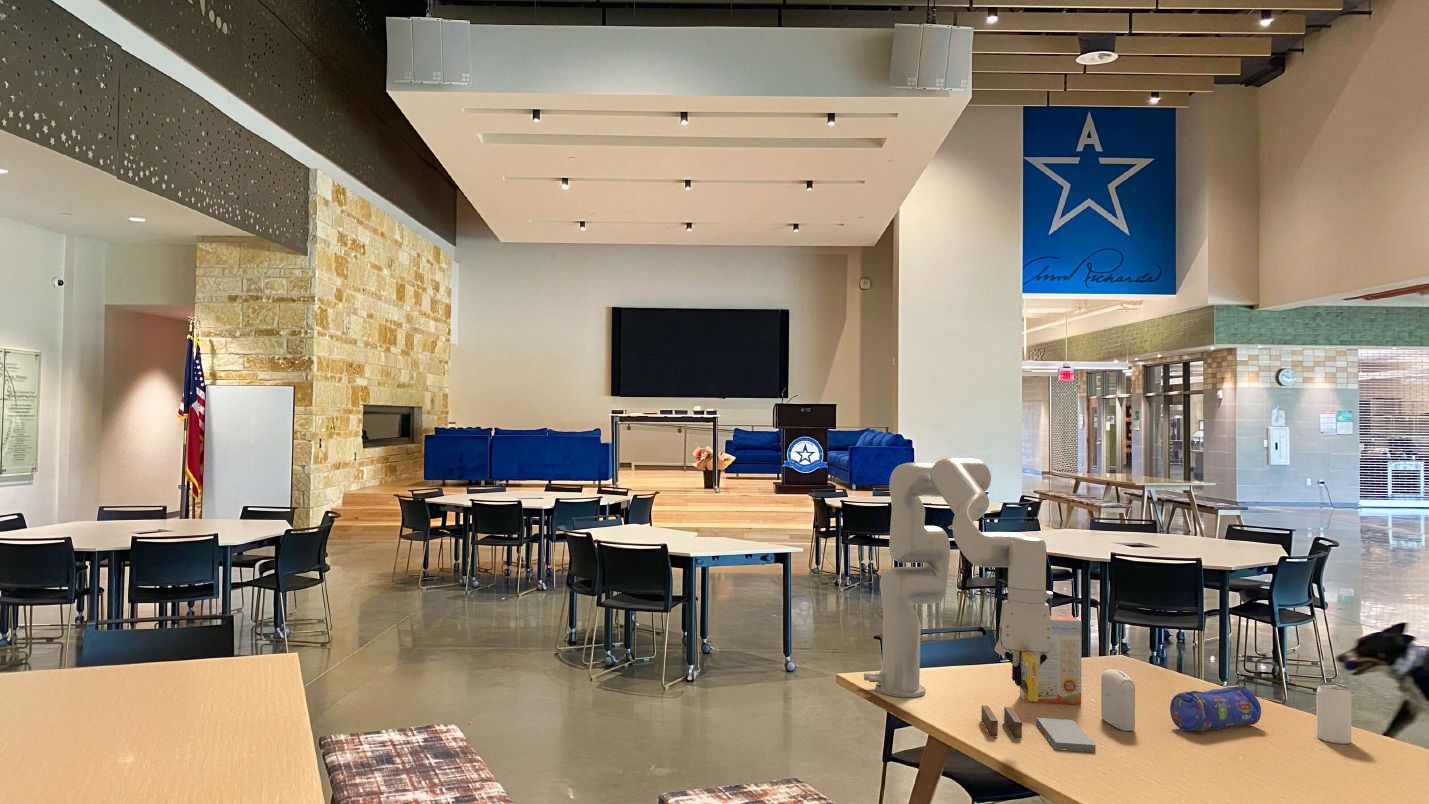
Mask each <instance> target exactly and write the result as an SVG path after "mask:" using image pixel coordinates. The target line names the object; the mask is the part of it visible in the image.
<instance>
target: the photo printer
mask: <svg viewBox="0 0 1429 804" xmlns="http://www.w3.org/2000/svg"><path fill="white" fill-rule="evenodd" d="M1100 678H1101V683H1100V687H1101V688H1100V689H1101V692H1100V694H1101V695H1100V696H1101V697H1100V698H1101V699H1100V701H1101V703H1100V706H1101V709H1100V712H1101V713H1100V715H1101V719H1102V720H1103V721H1105V722H1106V723H1108V724H1110V725H1111V726H1113V727H1115V729H1117V730H1121V731H1123V732H1131V731H1132V732H1133V731H1134V730H1135V729H1136V685H1135V683H1134V681H1133V680H1132V678H1131V677H1130V676H1129V675H1127V673H1125V672H1123V671H1122V670H1119V669H1107V670H1104V671H1103V673H1102V674H1101V677H1100Z"/></svg>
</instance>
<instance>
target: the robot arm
mask: <svg viewBox="0 0 1429 804" xmlns="http://www.w3.org/2000/svg"><path fill="white" fill-rule="evenodd" d="M991 481H992V475H991V470H990V469H989V467H988V466H987V464H985V462H984V461H982V460H981V459H976V458H965V457H964V458H962V457H961V458H959V457H958V458H957V457H953V458H952V457H949V458H948V457H947V458H946V457H945V458H942V459H939V460H937V461H935V462H906V463H902V464H898V465H897V466H896V467H895V468H894V469H893V470H892V472H891V475H890V477H889V486H888V487H889V495H890V500H891V501H890V502H891V503H890V504H891V514H890V526H889V528H890V529H889V541H888V544H889V545H888V551H889V556H890V557H891V559H893V561H896V562H898V563H905V564H911V563H913V564H914V563H915V564H919V563H922V564H923V566H897V567H892V568H889V569H887V570H885V571H884V572H883V573H882V574H881V576H880V580H879V590H880V596H881V602H882V603H881V604H882V650H881V651H882V655H881V656H882V657H881V658H882V659H881V661H882V663H881V665H882V666H881V669H879V670H880V672H879V671H878V672H876V673H871V672H863V681H865V682H867V681H868V682H869V683H876V684H875V690H876V691H877V692H879V693H881V694H883V695H886V696H891V697H899V698H916V697H922V696H924V695H925V694H926V687H925V686H923V685H921V684H920V674H921V672H920V671H921V668H920V667H921V664H920V663H921V621H920V617H919V615H918V614H917V612H916V611H915V609H914V607H913V606H914V605H927V604H928V605H932V604H937V603H940V602H942V601H943V600H944V598H945V597H946V593H947V590H948V585H949V584H948V583H949V571H950V557H951V556H950V555H951V544H950V539H949V536H948V534H947V532H946V531H945V530H944V528H942V527H940V526H936V525H925V520H926V508H925V505H924V503H923V501H922V500H921V498H920V497H933V498H934V497H940V498H943V501H945V503H946V504H947V506H948V507H949V508H950V510H951V511H952V512H953V513H954V516H953V519H952V535H953V539H954V542H955V544H956V545H957V547H958V549H959V550H960V552H961V553H962V554H963V556H964V557H965V558H966V560H968V561H969V562H970V563H971V564H972V565H973V566H975V567H979V568H1008V569H1007V599H1004V600H1003V601H1002V606H1001V611H1000V618H999V619H1000V622H999V633H998V635H999V636H998V640H997V642H996V645H995V646H994V651H995V653H997V654H998V655H1000V656H1002V657H1005V658H1006V659H1007V660H1008V661H1009V663H1011V664H1012V665H1011V666H1012V667H1011V668H1012V669H1011V679H1012V681H1013V682H1014V684H1015V685H1016V686H1017V687H1020V686H1021V667H1020V663H1019V651H1021V652H1023V651H1026V652H1031V653H1032V654H1033V655H1034V656H1035V657H1036V658H1037V660H1038V668H1039V667H1040V665H1041V664H1042V663H1043V662H1044V661H1045V660H1047V659H1050V658H1052V657H1055V656H1056V655H1057V653H1056V651H1055V648H1054V646H1053V644H1052V628H1051V617H1050V616H1051V611H1050V606H1049V605H1050V604H1048V603H1047V601H1048V599H1053V596H1054V594H1053V592H1052V591H1049V590H1047V589H1046V588H1047V587H1046V585H1047V544H1046V541H1045V540H1044V539H1043V538H1039V537H1035V536H1026V535H1025V534H1022V533H1019V532H1014V531H1013V532H1012V531H1011V532H1010V531H1006V532H1005V531H982V532H981V530H979V529H978V527H977V526H976V525H975V523H974V522H976V521H978V520H979V519H980V518H982V517H983V516H984V515H985V514H986V513H987V511H988V509H989V507H990V499H989V496H988V495H987V493H986V491H987V490H989V488H990V486H991ZM1040 653H1041V654H1040Z"/></svg>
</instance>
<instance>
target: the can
mask: <svg viewBox="0 0 1429 804" xmlns="http://www.w3.org/2000/svg"><path fill="white" fill-rule="evenodd" d="M1316 737H1317V738H1318V739H1319V740H1321V741H1323V742H1326V743H1331V744H1334V743H1335V745H1349V744H1350V743H1351V742H1352V693H1351V692H1350V687H1348V686H1346V685H1343V684H1339V683H1334V682H1320V683H1318V688H1317V689H1316ZM1348 743H1349V744H1348Z"/></svg>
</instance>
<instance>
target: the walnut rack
mask: <svg viewBox="0 0 1429 804" xmlns="http://www.w3.org/2000/svg"><path fill="white" fill-rule="evenodd" d="M1003 708H1004V711H1003V712H1004V715H1003V717H1004V719H1003V722H1005V723H1006V724H1005V723H1004V724H1005V725H1007V726H1006V727H1007V729H1008V728H1009V729H1008V731H1009V732H1010V734H1011V735H1012V737H1013V736H1014V737H1013V738H1014V739H1017V738H1021V740H1022V739H1023V722H1022V720H1021V719H1020V718H1019V716H1018V715H1017V713H1016V712H1015V711H1014V709H1013V708H1012V707H1011V706H1004V707H1003ZM996 717H997V716H995V714H994V712H993V710H992V709H991V708H990V706H989V705H983V704H982V705H981V718H980V719H981V720H982V721H981V722H983V723H984V724H983V723H982V724H983V726H984V725H985V726H984V728H985V727H986V728H987V730H988V731H987V730H986V731H987V733H988V732H989V733H988V735H989V734H990V735H989V737H990V736H998V735H999V729H998V728H999V727H998V726H999V720H998V718H996ZM986 728H985V729H986Z"/></svg>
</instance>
